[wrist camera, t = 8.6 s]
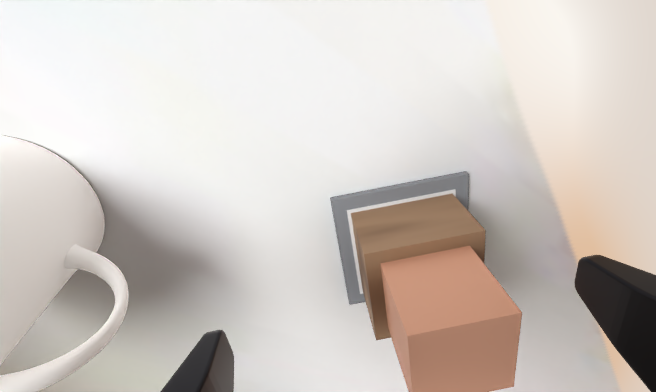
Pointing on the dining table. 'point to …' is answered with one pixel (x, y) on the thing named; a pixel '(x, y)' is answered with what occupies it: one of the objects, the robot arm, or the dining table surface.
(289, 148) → the dining table surface
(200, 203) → the dining table surface
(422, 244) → the base block
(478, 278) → the cube
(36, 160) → the mug
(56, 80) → the dining table surface
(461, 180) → the gray square frame
